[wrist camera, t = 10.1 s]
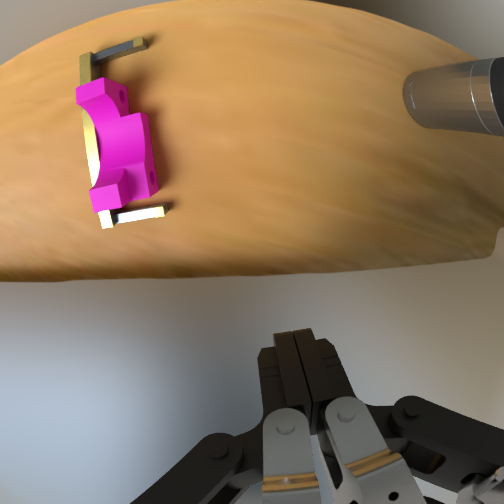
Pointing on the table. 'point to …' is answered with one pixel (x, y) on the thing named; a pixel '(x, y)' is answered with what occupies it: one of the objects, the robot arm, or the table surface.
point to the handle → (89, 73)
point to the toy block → (118, 146)
